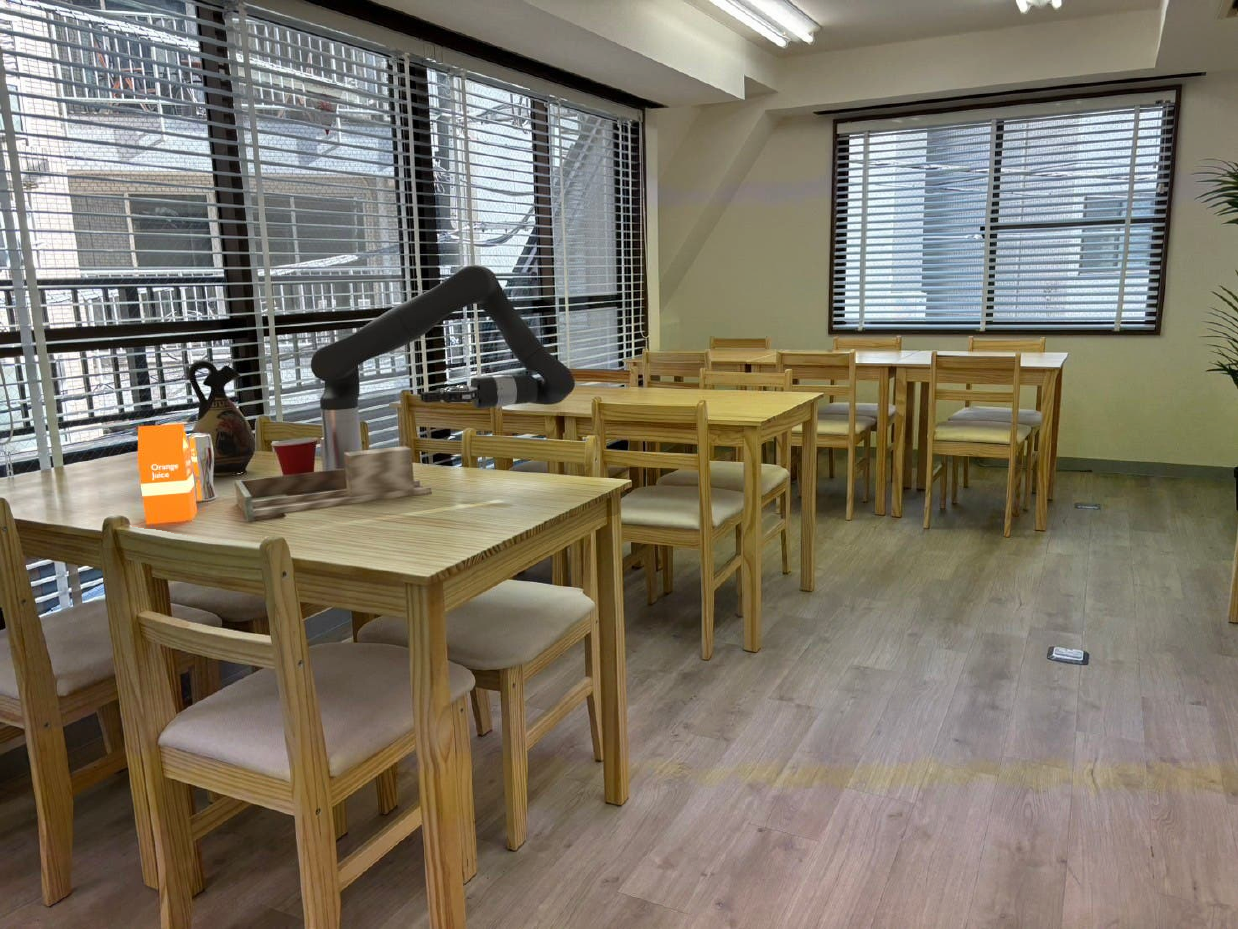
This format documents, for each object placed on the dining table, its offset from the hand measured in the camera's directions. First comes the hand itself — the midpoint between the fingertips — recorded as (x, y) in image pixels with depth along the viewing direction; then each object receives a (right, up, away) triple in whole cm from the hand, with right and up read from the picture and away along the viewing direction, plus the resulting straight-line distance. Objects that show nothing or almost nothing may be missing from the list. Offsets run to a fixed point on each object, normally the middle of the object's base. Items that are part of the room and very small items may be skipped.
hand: (422, 397), depth 208 cm
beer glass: (-52, -24, +3) cm, 57 cm away
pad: (-33, -23, -4) cm, 41 cm away
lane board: (-19, -23, -2) cm, 30 cm away
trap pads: (-18, -21, +3) cm, 28 cm away
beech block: (-9, -22, -1) cm, 24 cm away
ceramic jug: (-60, -18, +33) cm, 70 cm away
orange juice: (-50, -27, -14) cm, 59 cm away
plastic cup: (-32, -21, +12) cm, 41 cm away
